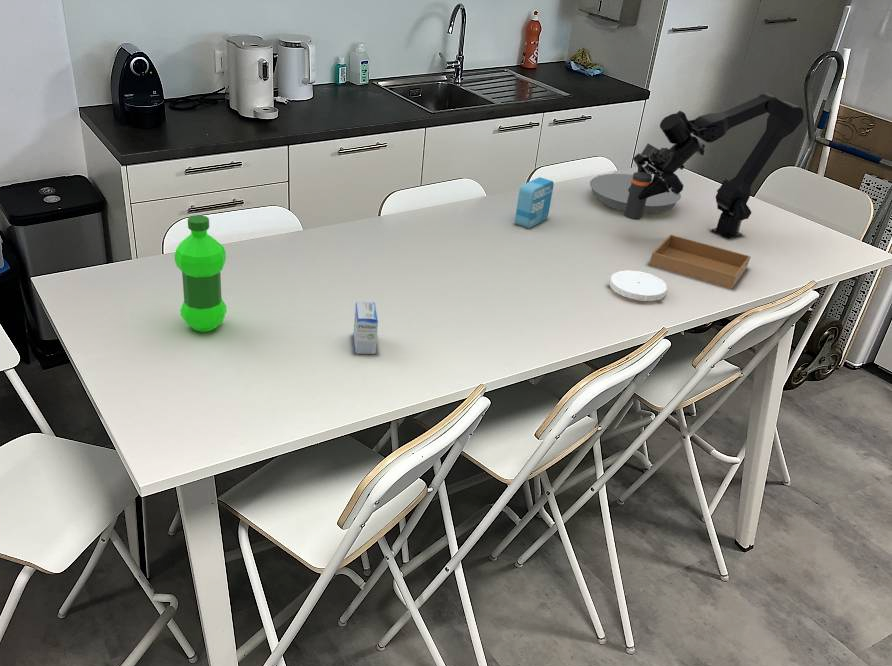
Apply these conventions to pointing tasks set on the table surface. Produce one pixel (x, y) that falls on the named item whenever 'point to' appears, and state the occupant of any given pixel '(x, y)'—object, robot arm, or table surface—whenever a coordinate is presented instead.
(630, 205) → the dark grey cylinder
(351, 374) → the table surface
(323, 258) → the table surface
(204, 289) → the plastic bottle
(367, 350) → the medicine box
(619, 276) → the plastic lid
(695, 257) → the brown wooden tray
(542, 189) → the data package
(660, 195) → the flat disc
